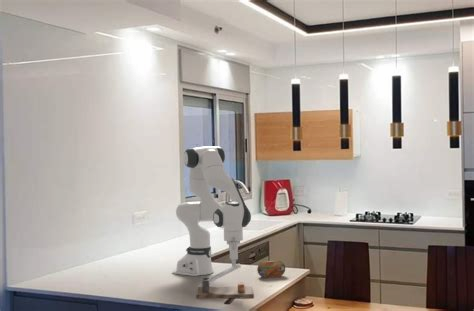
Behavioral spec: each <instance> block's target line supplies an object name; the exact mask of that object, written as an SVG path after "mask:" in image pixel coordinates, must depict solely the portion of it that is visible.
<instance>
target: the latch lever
mask: <svg viewBox="0 0 474 311" xmlns="http://www.w3.org/2000/svg"><path fill="white" fill-rule="evenodd" d="M241 267H242V264H240V263H236V266H235V267H232V266H231V267H229V268H227V269H225V270H223V271H221V272H219V273H216V274H215V275H213V276H211V277H209V279H207V280H209V284H210V283H212V282H214V281H216V280H218V279H220V278H222V277H224V276H226V275H229V274H230V273H232V272H235V271H236V270H238V269H240V268H241Z"/></svg>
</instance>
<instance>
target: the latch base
mask: <svg viewBox="0 0 474 311" xmlns="http://www.w3.org/2000/svg"><path fill="white" fill-rule="evenodd" d="M209 278H210V276H209V277H208V276H207V277H202V280H201V282H202V283H201V285H202V286H199V287H197V290H196V299H235V298H237V299H239V298H240V297H249V298H254V289H253V286H252V285H251V286H250V285H248V286H245V282H244V281H237V286H210V283H209V280H207V279H209Z"/></svg>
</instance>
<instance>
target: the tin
mask: <svg viewBox="0 0 474 311" xmlns="http://www.w3.org/2000/svg"><path fill="white" fill-rule="evenodd" d="M256 269H257V271H256V272H257V274H258V275H259V276H260V277H261V278H263V279H267V278H268V279H269V277H270V279H271V278H279V277H282V276H283V275H284V274H285V272H286V265H285V263H283V262H282V261H281V260H268V261H261V262H260V263H259V264H258V266H257V268H256Z"/></svg>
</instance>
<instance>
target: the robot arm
mask: <svg viewBox="0 0 474 311" xmlns="http://www.w3.org/2000/svg"><path fill="white" fill-rule="evenodd" d="M225 160H226V155H225V151H224V149H223V148H222V147H221V146H218V145H217V146H215V145H214V146H210V145H209V146H200V147H199V146H198V147H190V148H187V149H186V150H185V151H184V152H183V162H184V165H185V166H186V167H187V168H189V173H188V174H189V175H188V176H189V178H188V179H189V187H188V188H189V192H190V193H191V194H192V195H193V196H195V197H197V198H199V199H200V201H187V202H186V201H185V202H182V203H179V204H178V205H177V207H176V209H175V215H176V217H177V220H179V221H180V222H181V223H183V224H184V225H185V227H186V229H187V231H188V235H189V246H188V247H187V248H186V249H185V252H186V254H185V255H184V256H182V257H181V258H179V259H178V261H177V263H176V268H174V269H172V274H174V275H181V276H182V275H183V276H190V277H191V276H192V277H197V276H203V275H204V276H205V275H211V274H213V273H214V269H213V264H212V258H211V257H212V247H211V234H210V233H211V232H210V231H209V230H208V229H207V228H204V227H202V226H200V224H199V222H200V223H202V222H203V223H204V222H213V224H214V225H215V226H216V227H217V228H220V229H221V228H223V241H225V242H226V245H228V248H229V260H231V267H235V266H236V265H237V260H238V259H239V255H238V254H239V250H238V249H239V245H240V244H241V241H243V240H244V238H243V237H244V236H243V234H244V233H243V232H244V230H243V228H245V227H247V226H248V225H249V223H250V222H251V221H252V220H251V219H252V215H251V212H250V209H249V208H248V207H247V205H246V203H245V200H244V199H243V196H242V194H241V192H240V189H239V188H238V185H237V183H236V181H235V180H234V179H233V178H232V177H230V175H228V173H227V172H226V169H225V167H224V162H225ZM211 187H212V188H213V189H216V190H217V189H218V190H220V191H223V192H225V193H226V194H228V196H230V199H231V200H230V201H229V200H228V201H225V202H224V203H223V204H224V205H223V206H222V204H221V203H220V202H219V201H217V200H216V199H215V198H214V196H213V194H212V191H211Z"/></svg>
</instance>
